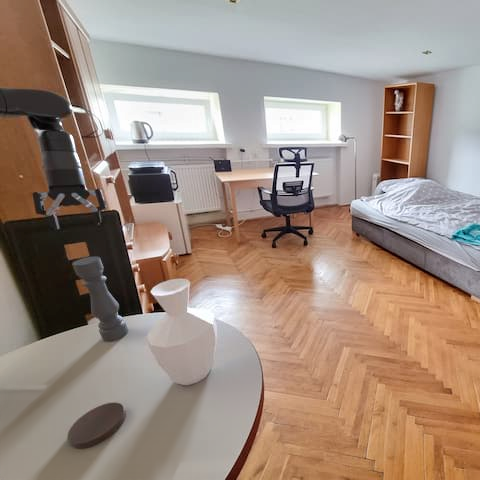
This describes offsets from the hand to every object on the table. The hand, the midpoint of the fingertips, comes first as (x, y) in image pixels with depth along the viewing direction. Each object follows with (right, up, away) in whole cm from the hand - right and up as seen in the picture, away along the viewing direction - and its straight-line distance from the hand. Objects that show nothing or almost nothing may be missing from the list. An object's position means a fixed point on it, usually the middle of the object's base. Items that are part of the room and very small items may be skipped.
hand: (77, 227), depth 82 cm
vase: (+39, -38, -8) cm, 55 cm away
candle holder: (+7, -33, +5) cm, 34 cm away
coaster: (+26, -43, -22) cm, 55 cm away
